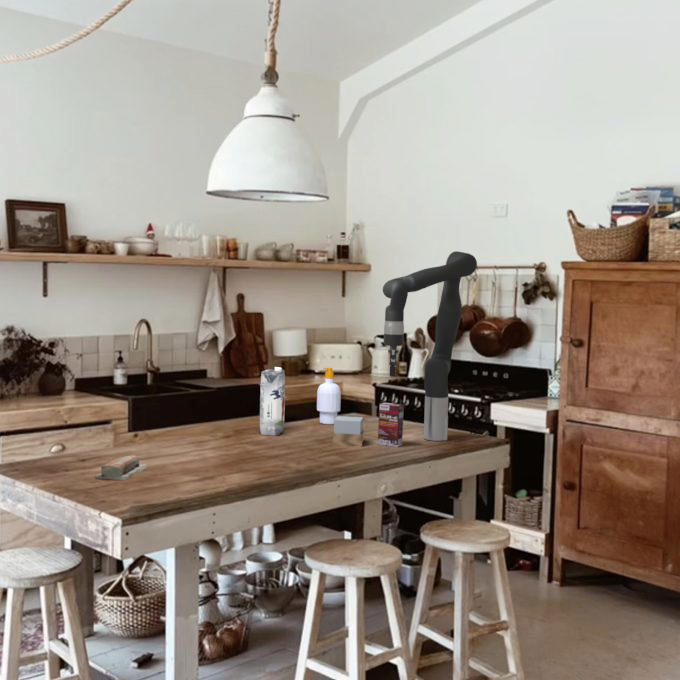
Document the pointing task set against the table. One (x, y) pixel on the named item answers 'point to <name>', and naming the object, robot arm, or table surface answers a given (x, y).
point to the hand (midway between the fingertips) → (392, 375)
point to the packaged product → (121, 468)
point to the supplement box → (390, 424)
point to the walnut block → (348, 439)
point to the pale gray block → (348, 425)
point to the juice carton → (272, 401)
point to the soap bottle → (328, 399)
